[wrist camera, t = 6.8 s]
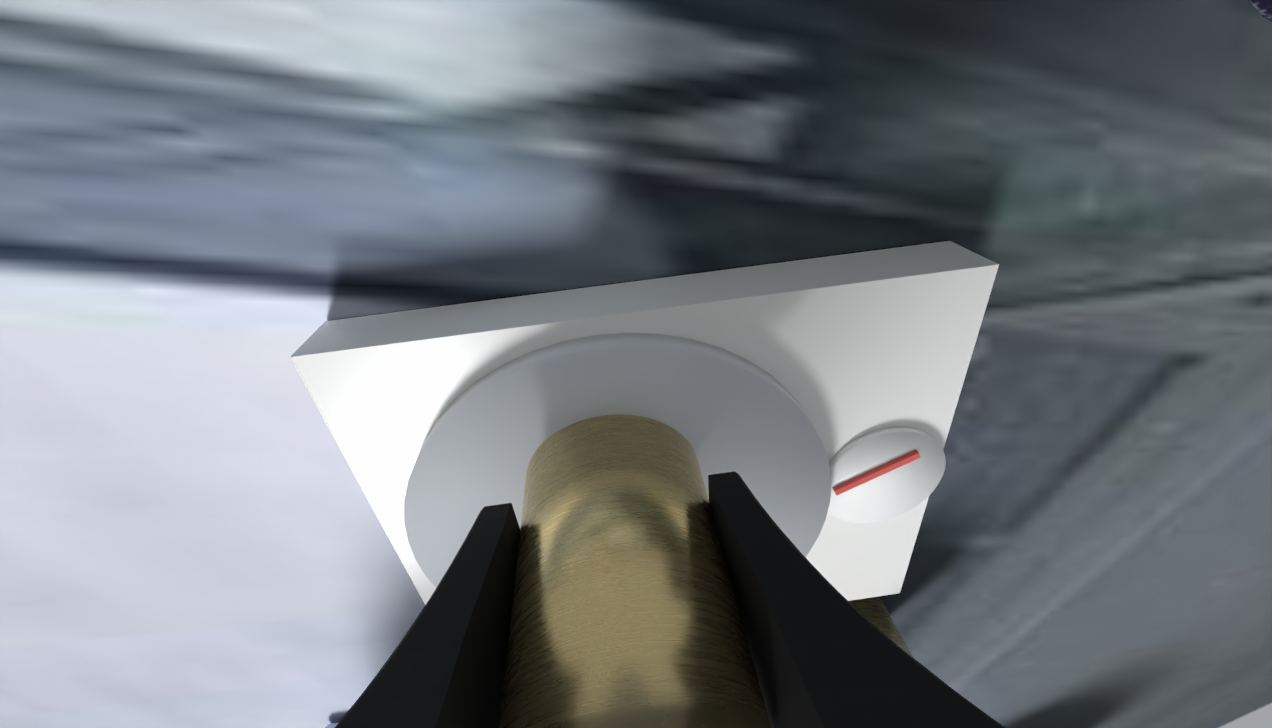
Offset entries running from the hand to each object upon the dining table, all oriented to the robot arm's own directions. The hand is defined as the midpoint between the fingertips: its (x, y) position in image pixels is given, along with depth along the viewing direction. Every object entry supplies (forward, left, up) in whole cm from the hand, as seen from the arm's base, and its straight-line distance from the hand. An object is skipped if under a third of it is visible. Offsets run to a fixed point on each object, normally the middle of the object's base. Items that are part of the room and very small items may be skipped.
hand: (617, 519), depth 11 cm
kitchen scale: (-3, -2, -5) cm, 7 cm away
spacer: (0, 0, -2) cm, 2 cm away
